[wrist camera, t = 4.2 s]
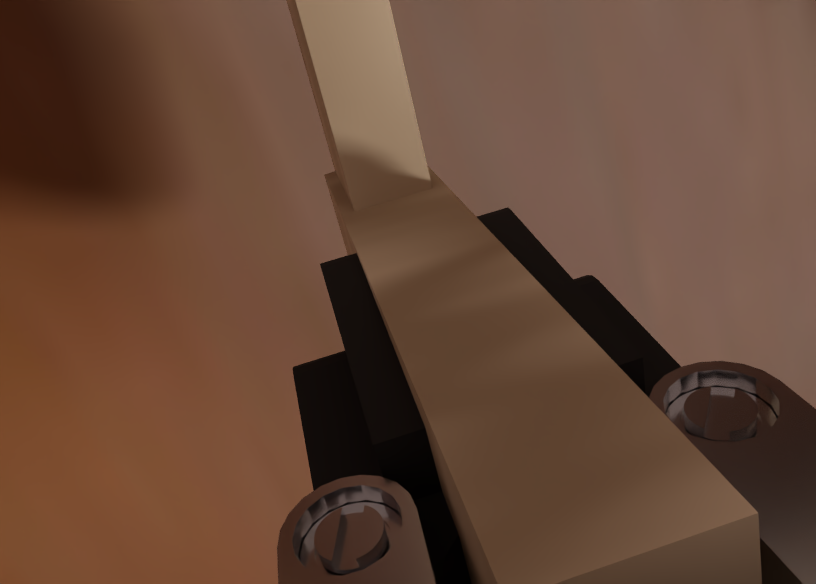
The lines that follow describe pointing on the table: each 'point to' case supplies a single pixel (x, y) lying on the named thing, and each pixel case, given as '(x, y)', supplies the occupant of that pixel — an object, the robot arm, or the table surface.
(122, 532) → the table surface
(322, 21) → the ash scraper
